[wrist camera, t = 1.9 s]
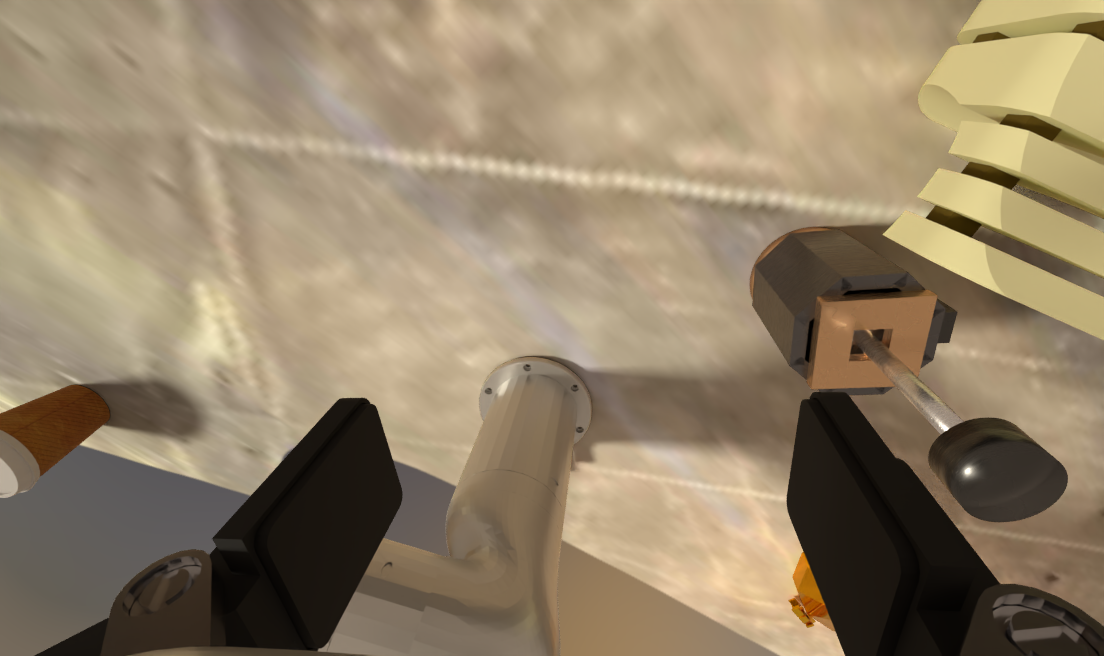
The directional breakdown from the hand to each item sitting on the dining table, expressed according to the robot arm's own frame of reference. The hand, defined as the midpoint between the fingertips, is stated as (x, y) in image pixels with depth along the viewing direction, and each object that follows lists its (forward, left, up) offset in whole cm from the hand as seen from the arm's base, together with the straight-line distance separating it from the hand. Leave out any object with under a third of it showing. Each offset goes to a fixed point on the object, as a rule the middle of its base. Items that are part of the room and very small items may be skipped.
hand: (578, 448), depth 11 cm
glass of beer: (-22, +70, -36) cm, 81 cm away
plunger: (-10, -17, -25) cm, 32 cm away
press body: (-11, -17, -36) cm, 41 cm away
